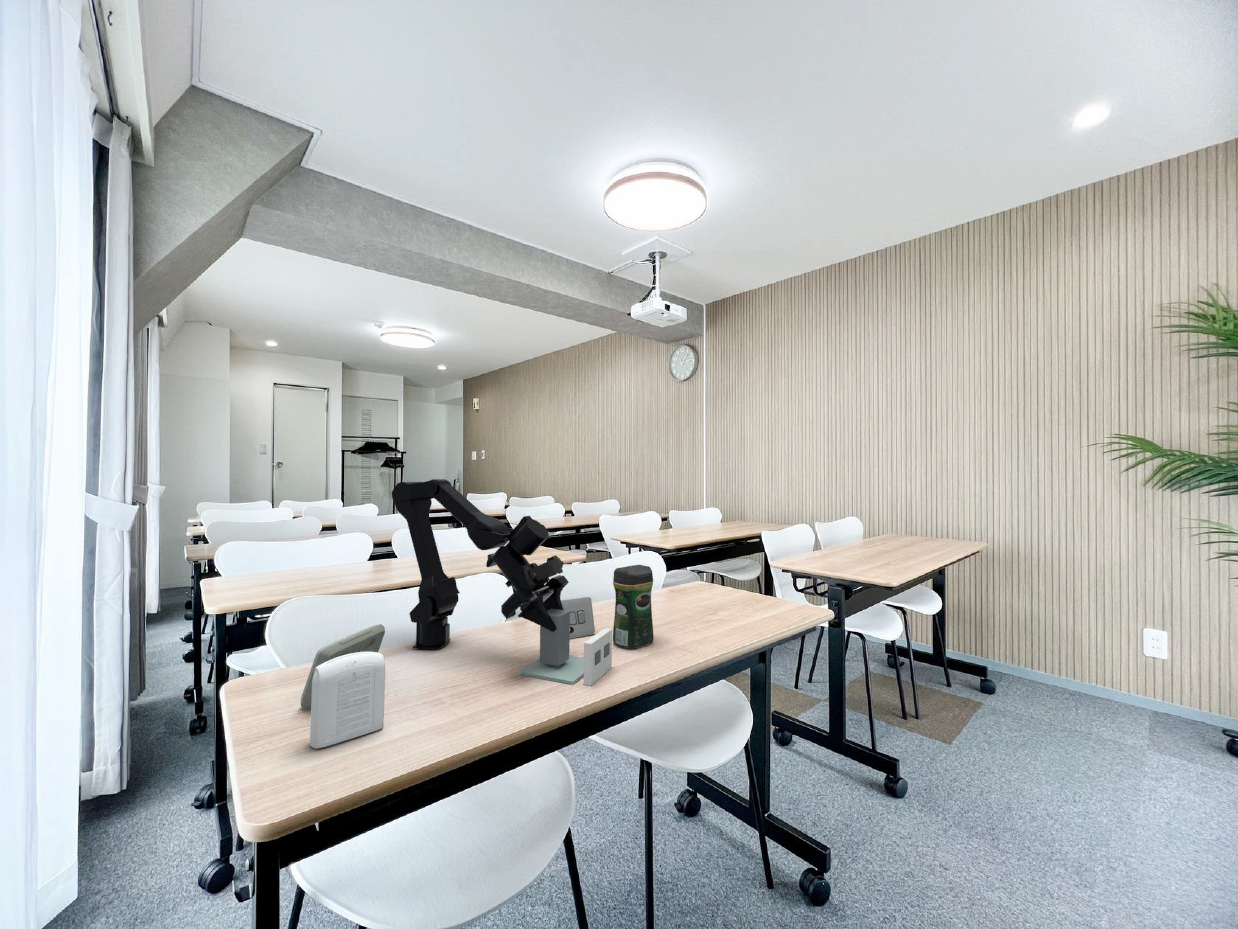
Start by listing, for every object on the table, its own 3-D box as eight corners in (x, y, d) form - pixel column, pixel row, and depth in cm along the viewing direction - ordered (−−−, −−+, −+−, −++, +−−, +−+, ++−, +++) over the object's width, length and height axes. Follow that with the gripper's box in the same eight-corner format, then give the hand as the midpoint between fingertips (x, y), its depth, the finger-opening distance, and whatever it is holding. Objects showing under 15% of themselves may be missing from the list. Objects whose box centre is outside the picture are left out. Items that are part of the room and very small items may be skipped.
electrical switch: (561, 641, 121) (560, 602, 122) (553, 637, 125) (552, 599, 126) (595, 635, 126) (594, 597, 127) (586, 631, 130) (585, 595, 131)
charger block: (539, 662, 103) (540, 614, 103) (550, 655, 107) (551, 608, 108) (558, 666, 102) (559, 616, 102) (569, 658, 106) (570, 611, 106)
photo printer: (378, 719, 82) (380, 643, 82) (388, 729, 79) (389, 650, 79) (306, 742, 75) (308, 659, 75) (313, 754, 72) (315, 667, 72)
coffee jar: (636, 635, 126) (637, 561, 126) (658, 643, 120) (659, 566, 120) (606, 643, 120) (607, 565, 120) (628, 652, 114) (629, 570, 114)
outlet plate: (582, 684, 96) (583, 642, 97) (604, 666, 106) (604, 628, 106) (591, 686, 96) (592, 644, 96) (612, 667, 105) (612, 629, 105)
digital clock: (366, 673, 101) (367, 620, 101) (400, 680, 97) (401, 625, 98) (286, 707, 86) (287, 645, 86) (321, 718, 82) (323, 653, 83)
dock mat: (520, 674, 101) (520, 671, 101) (550, 655, 112) (550, 652, 112) (573, 685, 96) (573, 681, 96) (599, 663, 107) (599, 660, 107)
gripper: (514, 551, 98) (563, 614, 93) (561, 539, 115) (604, 593, 111) (481, 587, 101) (526, 650, 96) (531, 571, 118) (572, 624, 113)
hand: (560, 627), depth 104 cm, fingers closed on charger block, 4 cm apart
